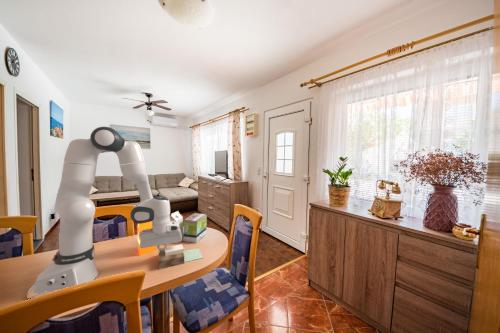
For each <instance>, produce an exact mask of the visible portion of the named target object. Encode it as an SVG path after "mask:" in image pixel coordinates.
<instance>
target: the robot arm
mask: <svg viewBox="0 0 500 333" xmlns="http://www.w3.org/2000/svg"><path fill="white" fill-rule="evenodd" d="M89 137H90V138H87V139H86V138H76V139H72V140H71V141H70V142H69V144H68V146H67V148H66V152H65V155H64V158H63V159H64V160H63V164H62V171H61V172H62V173H61V179H60V182H59V183H60V184H59V187H58V190H57V193H56V197H55V203H54V210H55V212H56V214H57V215H58V216H59V234H58V245H59V246H58V247H59V249H58V250H57V251H56V252H55V254H54V255H53V257H52V258H51V259H52V263H51V264H50V265H48V266H47V267H46V268H44V269H43V270H42V271H41V272H40V273H39V274H38V276H37V277H36V280H35V283H33V285H31V287H30V288H29V289H28V291H27V293H28V292H31V291H34V292H33V293H38V294H37V295H34V296H31V297H29V299H28V300H31V299H30V298H32V299H34V298H33V297H36V296H39V295H43V294H46V293H49V292H53V291H55V290H59V289H63V288H66V287H71V286H74V285H78V284H81V283H84V282H88V281H91V282H92V281H94V280H95V279H96V278H97V277H98V276H99V270H98V268H97V265H96V262H95V261H96V260H95V256H96V253H95V252H96V251H95V246H94V244H93V242H94V241H93V228H94V227H93V225H94V220H95V213H96V206H95V202H93V200H92V199H90V193H91V190H92V187H93V185H94V183H95V180H96V179H95V178H96V172H97V165H98V158H99V155H100V154H103V153H111V152H113V153H114V154H116V156H117V159H118V163H119V168H120V171H121V174H122V176H123V178H124V179H126V180H127V181H129V182H132V183H133V184H134V185H135V186H136V188H137V192H138V194H139V199H140V201H139V204H137V205H136V206H135V207H133V208H132V209H131V210H130V213H129V216H130V219H131V220H132V222H133V223H135V224H137V225H138V224H142V223H147V222H152V228H151V229H144V230H142V231H140V232H139V238H140V239H141V240H140V248H142V249H143V248H148V247H153V246H157V251H158V254H159V253H163V252H165V249H166V247H168V245H169V244H176V243H175V242H177V243H180V242H182V241H183V239H182V234H181V230H180V228H179V223H178V222H173V221H170V216H171V205H170V204H171V203H170V199H169V198H167V197H166V196H161V195H157V196H154V194H153V190H152V187H151V183H150V179H149V175H148V171H147V165H146V159H145V155H144V152H143V150H142V147H141V145H140V143H138V142H137V141H134V140H125V138H123V137H122V136H121V134H119V132H118V131H117V130H116V129H114V128H112V127H108V126H98V127H96V128H94V130H92V132H91V133H90V136H89ZM163 245H164V246H163ZM161 246H163V247H161ZM95 277H96V278H95ZM45 291H47V292H45ZM43 292H44V293H43ZM27 293H26V294H27Z"/></svg>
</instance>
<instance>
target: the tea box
mask: <svg viewBox="0 0 500 333" xmlns="http://www.w3.org/2000/svg"><path fill="white" fill-rule="evenodd" d="M207 216H208V215H207V214H205V213H196V212H195V213H192V214H191V215H189V216H187V217H186V218H185V219H184V218H183V239H182V241H183V242H186V243H194V244H195V243H196V244H197V243H198V242H199V241H200V240H202V238H203V237H204V236H205V235H207V226H208V225H207V223H208V222H207V219H208V217H207Z"/></svg>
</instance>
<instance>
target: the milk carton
mask: <svg viewBox="0 0 500 333" xmlns="http://www.w3.org/2000/svg"><path fill="white" fill-rule="evenodd" d="M180 213H181V212H179V210H177V211H175V212H172V213H170V221H173V222H178V223H179V228H180V230H181V234H182V240H183V236H184V234H183V233H184V217H183V215H182V214H180ZM177 243H178V242H175V243H174V244H177Z"/></svg>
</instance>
